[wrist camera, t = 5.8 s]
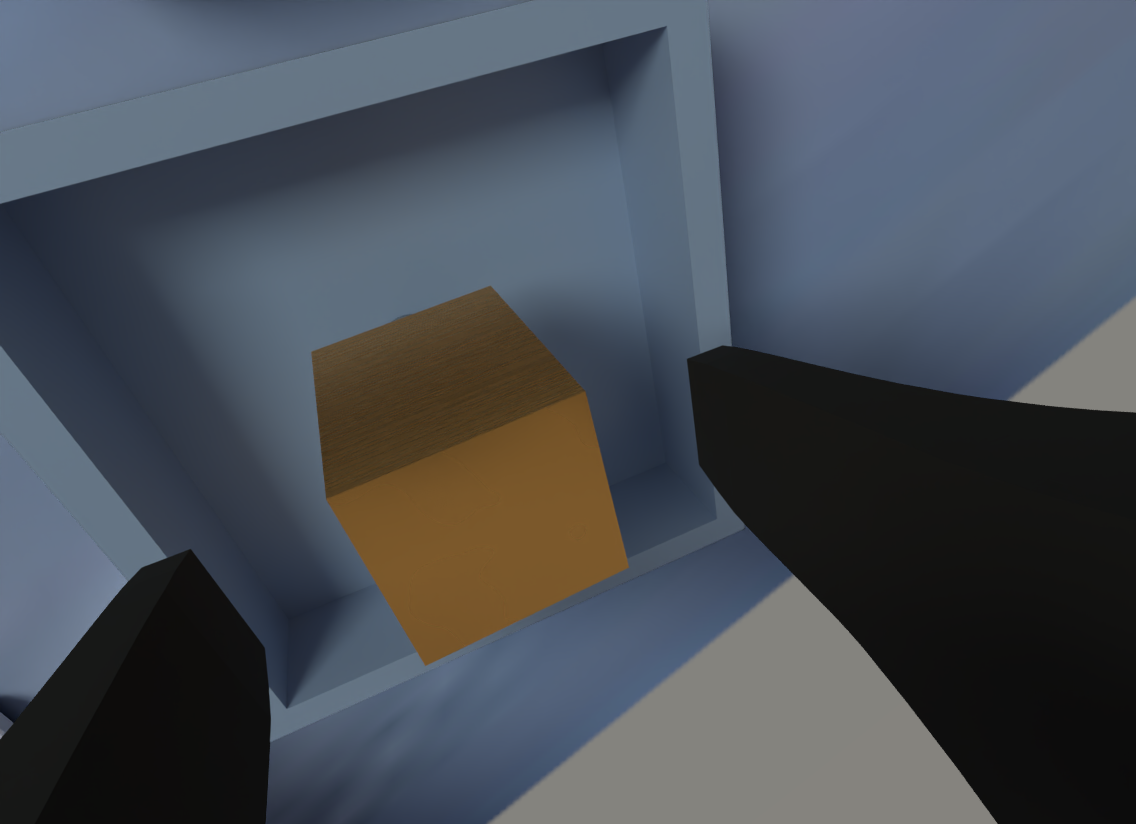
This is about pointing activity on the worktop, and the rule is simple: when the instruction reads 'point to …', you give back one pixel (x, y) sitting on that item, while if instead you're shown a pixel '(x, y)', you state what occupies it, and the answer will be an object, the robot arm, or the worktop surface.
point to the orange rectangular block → (464, 470)
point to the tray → (361, 295)
